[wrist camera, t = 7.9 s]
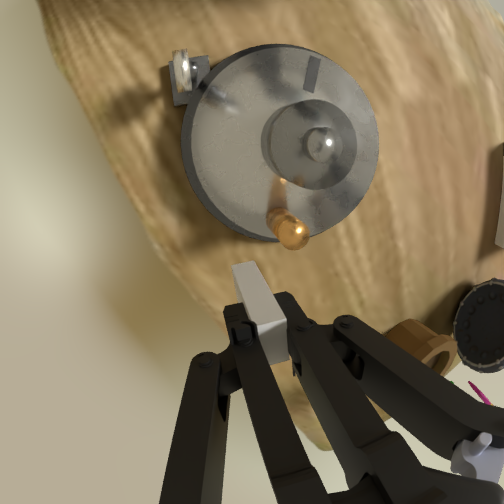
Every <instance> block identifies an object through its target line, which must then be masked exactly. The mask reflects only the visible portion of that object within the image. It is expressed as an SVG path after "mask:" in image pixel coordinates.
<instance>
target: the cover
mask: <svg viewBox="0 0 504 504" xmlns="http://www.w3.org/2000/svg"><path fill="white" fill-rule="evenodd" d="M261 151H262V155H263V158H264V160H265V162H266V164H267V165H268V167H269V168H270V169H271V170H272V171H273V172H274V173H275V174H276V175H277V176H279V177H280V178H282V179H284V180H286V181H289V182H291V183H293V184H295V185H297V186H299V187H302V188H305V189H309V190H323V189H327V188H330V187H332V186H334V185H336V184H338V183H339V182H341V181H342V180H343V179H344V178H345V177H346V176H347V174H348V173H349V172H350V170H351V168H352V166H353V164H354V161H355V158H356V154H357V138H356V133H355V130H354V127H353V125H352V123H351V121H350V120H349V118H348V117H347V116H346V114H345V113H344V112H343V111H342V110H341V109H339V108H338V107H337V106H335V105H333V104H331V103H329V102H327V101H323V100H318V99H310V100H304V101H300V102H297V103H293V104H290V105H286V106H284V107H282V108H280V109H278V110H276V111H275V112H274V113H273V114H272V115H271V116H270V117H269V118H268V120H267V121H266V123H265V125H264V127H263V130H262V134H261Z"/></svg>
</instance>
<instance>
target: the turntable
mask: <svg viewBox="0 0 504 504" xmlns="http://www.w3.org/2000/svg"><path fill="white" fill-rule="evenodd" d="M310 99H318V100H323V101H327V102H329V103H331V104H333V105H335V106H337V107H338V108H339V109H341V110H342V111H343V112H344V113H345V114H346V116H347V117H348V118H349V120H350V121H351V123H352V125H353V127H354V130H355V133H356V138H357V154H356V158H355V161H354V164H353V166H352V168H351V170H350V172H349V173H348V174H347V176H346V177H345V178H344V179H343V180H342V181H341V182H339V183H338V184H336V185H334V186H332V187H330V188H327V189H323V190H309V189H305V188H302V187H299V186H297V185H295V184H293V183H291V182H289V181H286V180H284V179H282V178H280V177H279V176H277V175H276V174H275V173H274V172H273V171H272V170H271V169H270V168H269V167H268V165H267V164H266V162H265V160H264V158H263V155H262V151H261V134H262V130H263V127H264V125H265V123H266V121H267V120H268V118H269V117H270V116H271V115H272V114H273V113H274V112H275V111H276V110H278V109H280V108H282V107H284V106H286V105H290V104H293V103H297V102H300V101H304V100H310ZM191 149H192V156H193V162H194V166H195V169H196V173H197V176H198V178H199V180H200V182H201V185H202V187H203V189H204V190H205V192H206V194H207V195H208V197H209V198H210V200H211V201H212V202H213V203H214V205H215V206H216V207H217V208H218V209H219V210H220V211H221V212H222V213H223V214H224V215H225V216H226V217H227V218H228V219H230V220H231V221H233V222H234V223H236V224H237V225H238V226H240V227H242V228H244V229H246V230H248V231H250V232H253V233H255V234H258V235H261V236H265V237H270V238H277V239H278V240H279V241H280V242H281V243H282V244H283V245H284V247H285V248H287V249H289V250H299V249H301V248H303V247H304V246H305V245H306V244H307V242H308V240H309V237H310V236H312V235H315V234H318V233H321V232H323V231H325V230H327V229H329V228H331V227H333V226H334V225H336V224H337V223H339V222H340V221H342V220H343V219H344V218H345V217H347V216H348V215H349V214H350V213H351V212H352V211H353V210H354V209H355V208H356V206H357V205H358V204H359V202H360V201H361V200H362V199H363V197H364V195H365V194H366V192H367V190H368V188H369V186H370V184H371V182H372V179H373V176H374V173H375V170H376V166H377V161H378V153H379V135H378V128H377V123H376V119H375V116H374V112H373V110H372V107H371V105H370V103H369V100H368V99H367V97H366V95H365V93H364V92H363V90H362V89H361V87H360V86H359V85H358V83H357V82H356V81H355V80H354V79H353V78H352V77H351V76H350V75H349V74H348V73H347V72H346V71H345V70H344V69H343V68H341V67H340V66H339V65H337V64H336V63H334V62H333V61H331V60H329V59H328V58H326V57H323V56H321V55H319V54H317V53H314V52H311V51H307V50H303V49H297V48H288V47H277V48H269V49H263V50H260V51H256V52H253V53H250V54H248V55H246V56H243V57H241V58H239V59H238V60H236V61H234V62H233V63H231V64H230V65H228V66H227V67H226V68H225V69H224V70H222V71H221V72H220V73H219V74H218V75H217V76H216V77H215V79H214V80H213V81H212V82H211V83H210V85H209V86H208V88H207V89H206V91H205V92H204V94H203V96H202V98H201V100H200V102H199V104H198V107H197V110H196V113H195V116H194V120H193V126H192V133H191Z"/></svg>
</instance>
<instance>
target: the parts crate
mask: <svg viewBox="0 0 504 504" xmlns="http://www.w3.org/2000/svg"><path fill="white" fill-rule="evenodd" d="M494 244H496V245H498V246H500V247H501V248H503V249H504V158H503V182H502V194H501V204H500V212H499V220H498V226H497V232H496V238H495V243H494Z"/></svg>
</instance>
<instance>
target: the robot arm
mask: <svg viewBox="0 0 504 504" xmlns="http://www.w3.org/2000/svg"><path fill="white" fill-rule="evenodd" d="M231 267H232V273H233V278H234V284H235V289H236V294H237V299H238V303H237V304H232V305H228V306H225V308H224V311H223V314H224V318H225V323H226V327H227V331H228V335H229V339H230V344H229V346H228V348H227V349H226V350H224V351H223V352H221V353H219V354H215V353H213V352H202V353H200V354H197V355H196V356H195V357H194V358H193V359H192V361H191V363H190V367H189V371H188V375H187V379H186V383H185V388H184V392H183V396H182V400H181V405H180V408H179V413H178V417H177V421H176V426H175V430H174V435H173V439H172V444H171V448H170V453H169V457H168V462H167V466H166V472H165V476H164V481H163V486H162V491H161V496H160V501H159V504H221V501H222V488H223V477H224V465H225V453H226V441H227V430H228V418H229V408H230V394H231V393H233V392H235V391H237V390H239V389H241V388H242V389H243V393H244V396H245V400H246V403H247V407H248V410H249V414H250V417H251V421H252V424H253V427H254V431H255V434H256V437H257V441H258V444H259V447H260V450H261V453H262V457H263V460H264V463H265V466H266V470H267V472H268V476H269V479H270V482H271V485H272V488H273V491H274V494H275V497H276V500H277V503H278V504H504V490H503V488H502V487H501V486H500V485H498V481H499V478H500V475H501V471H502V468H503V464H504V408H500V407H496V406H493V405H489V404H485V403H482V402H479V401H477V400H476V399H474V398H473V397H472V396H470V395H469V394H467V393H466V392H464V391H463V390H461V389H460V388H459V387H457V386H456V385H454V384H453V383H451V382H450V381H448V380H447V379H446V378H444V377H443V376H441V375H440V374H438V373H437V372H435V371H434V370H433V369H431V368H430V367H428V366H427V365H425V364H424V363H422V362H421V361H419V360H418V359H417V358H415V357H414V356H412V355H411V354H409V353H408V352H406V351H405V350H403V349H402V348H401V347H399V346H398V345H396V344H395V343H393V342H392V341H390V340H389V339H387V338H386V337H384V336H383V335H382V334H380V333H379V332H377V331H376V330H374V329H373V328H371V327H370V326H368V325H367V324H365V323H364V322H363V321H361V320H360V319H358V318H357V317H355V316H352V315H342V316H339V317H337V318H336V319H335V320H334V322H333V324H329V325H319V324H317V323H316V322H315V321H314V320H312V319H309V318H307V316H306V315H305V313H304V312H303V310H302V309H301V307H300V306H299V305H298V303H297V301H296V300H295V298H294V297H293V295H291V294H290V293H288V292H286V291H285V292H280V293H276V294H272V292H271V290H270V288H269V287H268V285H267V283H266V281H265V280H264V278H263V276H262V274H261V272H260V271H259V269H258V267H257V265H256V263H255V262H254V261H249V262H244V263H240V264H235V265H231ZM289 354H290V356H291V358H292V367H293V377H294V376H295V372H296V374H297V377H298V379H299V381H300V383H301V385H302V387H303V389H304V391H305V393H306V395H307V397H308V399H309V401H310V403H311V405H312V407H313V410H314V412H315V414H316V416H317V418H318V420H319V422H320V424H321V426H322V428H323V430H324V432H325V434H326V436H327V438H328V440H329V442H330V444H331V446H332V448H333V450H334V452H335V454H336V456H337V458H338V460H339V462H340V464H341V466H342V468H343V470H344V473H345V477H346V482H347V485H348V488H349V490H347V491H342V492H336V493H330V494H327V492H326V489H325V487H324V485H323V483H322V480H321V478H320V476H319V474H318V472H317V470H316V469H315V467H313V466H312V465H311V463H310V461H309V459H308V456H307V454H306V452H305V450H304V447H303V445H302V442H301V440H300V438H299V435H298V433H297V431H296V428H295V426H294V423H293V421H292V419H291V416H290V414H289V412H288V409H287V407H286V404H285V402H284V399H283V397H282V395H281V392H280V390H279V387H278V385H277V382H276V380H275V377H274V375H273V372H272V370H271V367H270V365H273V364H276V363H280V362H283V361H287V360H289ZM365 394H366V395H367V396H368V397H369V398H370V399H371V400H372V401H374V402H375V403H376V404H377V405H378V406H379V407H380V408H382V409H383V410H384V411H385V412H386V413H387V414H389V415H390V416H391V417H392V418H393V419H395V420H396V421H397V422H398V423H399V424H400V425H402V426H403V427H404V428H405V429H406V430H407V431H409V432H410V433H411V434H412V435H413V436H415V437H416V438H417V439H418V440H419V441H420V442H422V443H423V444H424V445H425V446H426V447H428V448H429V449H430V450H432V451H433V452H435V453H436V454H437V455H439V456H441V457H443V458H445V459H447V460H450V461H451V471H452V472H453V473H459V474H461V475H462V476H460V475H456V474H452V473H447V472H443V471H440V470H436V469H432V468H428V467H425V466H422V465H421V463H420V462H419V460H418V459H417V457H416V456H415V454H414V453H413V451H412V450H411V448H410V447H409V445H408V444H407V443H406V441H405V439H404V438H403V437H402V436H401V434H400V433H398V432H396V431H395V432H394V431H390V430H389V429H388V428H387V426H386V425H385V423H384V422H383V420H382V419H381V417H380V416H379V414H378V413H377V411H376V410H375V408H374V407H373V405H372V404H371V402H370V401H369V399H368V398H367V396H366V395H365Z"/></svg>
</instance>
